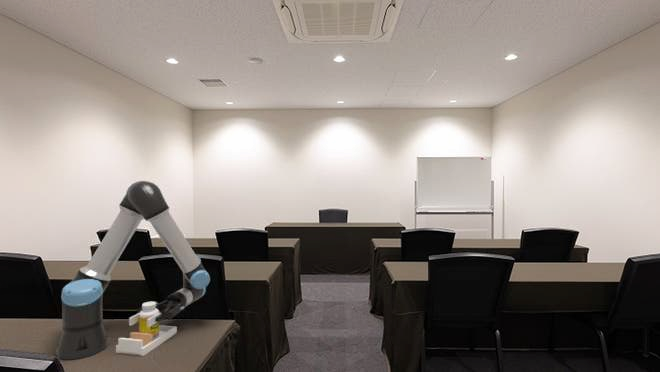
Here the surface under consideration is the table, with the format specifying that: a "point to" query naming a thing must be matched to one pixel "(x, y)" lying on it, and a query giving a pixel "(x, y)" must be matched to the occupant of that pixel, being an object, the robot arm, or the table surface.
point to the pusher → (142, 337)
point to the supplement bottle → (145, 314)
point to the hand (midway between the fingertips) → (139, 322)
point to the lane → (137, 345)
